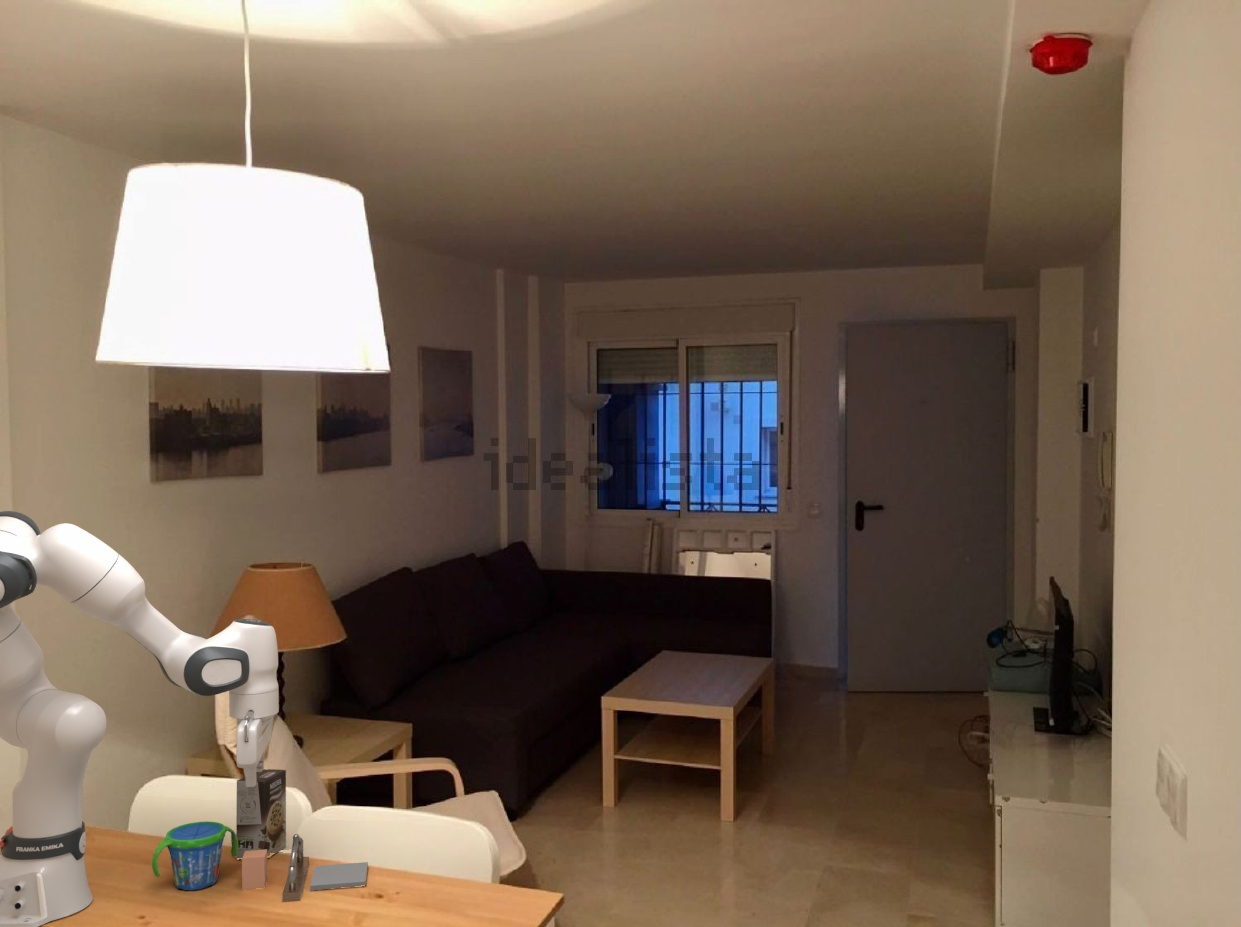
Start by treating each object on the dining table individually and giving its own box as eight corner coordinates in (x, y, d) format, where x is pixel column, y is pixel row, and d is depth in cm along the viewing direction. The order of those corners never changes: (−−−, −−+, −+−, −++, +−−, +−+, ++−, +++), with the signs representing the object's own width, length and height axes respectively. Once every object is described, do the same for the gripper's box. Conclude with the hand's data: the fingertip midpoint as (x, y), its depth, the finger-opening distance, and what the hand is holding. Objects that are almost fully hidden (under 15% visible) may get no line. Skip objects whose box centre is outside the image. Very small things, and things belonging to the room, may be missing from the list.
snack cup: (159, 903, 194) (159, 847, 194) (145, 885, 202) (145, 831, 202) (246, 883, 203) (246, 829, 203) (230, 866, 211) (230, 815, 211)
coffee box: (264, 863, 213) (264, 782, 213) (235, 860, 214) (234, 780, 214) (287, 847, 222) (287, 769, 222) (259, 845, 223) (259, 767, 223)
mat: (310, 891, 199) (310, 885, 199) (315, 871, 208) (315, 866, 208) (365, 887, 201) (365, 881, 201) (367, 867, 210) (367, 862, 210)
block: (242, 890, 199) (242, 858, 199) (245, 882, 203) (245, 851, 203) (264, 889, 200) (264, 856, 200) (267, 880, 204) (267, 849, 204)
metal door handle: (282, 902, 194) (282, 851, 194) (293, 865, 212) (293, 819, 212) (299, 900, 194) (299, 850, 194) (309, 864, 212) (308, 818, 212)
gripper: (264, 717, 192) (264, 794, 192) (278, 692, 212) (279, 762, 212) (227, 719, 191) (227, 796, 191) (244, 694, 211) (245, 764, 211)
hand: (255, 778), depth 202 cm, fingers open, 8 cm apart
